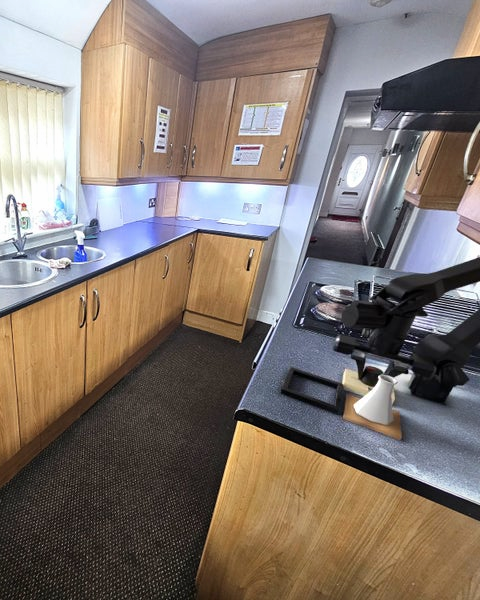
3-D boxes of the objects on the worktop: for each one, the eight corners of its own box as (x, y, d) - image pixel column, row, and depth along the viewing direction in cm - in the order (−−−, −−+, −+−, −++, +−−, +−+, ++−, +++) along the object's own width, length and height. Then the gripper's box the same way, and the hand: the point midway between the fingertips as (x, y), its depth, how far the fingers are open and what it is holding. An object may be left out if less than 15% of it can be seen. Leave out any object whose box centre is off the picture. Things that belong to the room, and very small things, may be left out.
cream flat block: (390, 389, 86) (393, 382, 85) (391, 405, 80) (395, 398, 79) (343, 374, 91) (345, 368, 90) (341, 388, 86) (344, 382, 85)
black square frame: (342, 388, 86) (344, 384, 85) (338, 415, 77) (340, 410, 76) (288, 370, 93) (289, 366, 92) (279, 393, 84) (281, 388, 84)
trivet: (398, 414, 77) (399, 411, 77) (400, 440, 70) (401, 437, 70) (345, 396, 83) (346, 393, 83) (342, 418, 76) (343, 416, 76)
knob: (377, 381, 85) (383, 368, 83) (377, 388, 82) (384, 375, 81) (360, 376, 87) (365, 363, 85) (359, 383, 85) (365, 369, 83)
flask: (350, 414, 76) (365, 379, 72) (354, 398, 81) (368, 365, 77) (391, 430, 72) (410, 394, 68) (393, 413, 76) (410, 378, 72)
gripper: (441, 328, 79) (415, 381, 85) (345, 308, 90) (328, 356, 96) (449, 348, 71) (419, 404, 77) (342, 322, 82) (324, 374, 88)
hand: (369, 382), depth 85 cm, fingers open, 4 cm apart
